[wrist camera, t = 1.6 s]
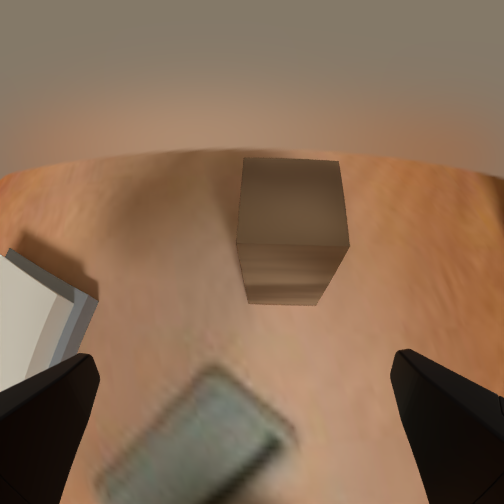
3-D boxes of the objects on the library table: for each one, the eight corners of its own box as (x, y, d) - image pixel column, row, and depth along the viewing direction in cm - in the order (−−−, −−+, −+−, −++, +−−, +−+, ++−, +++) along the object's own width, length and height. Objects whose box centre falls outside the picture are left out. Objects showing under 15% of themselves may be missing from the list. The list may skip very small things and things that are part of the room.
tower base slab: (102, 303, 23) (88, 294, 21) (55, 429, 18) (38, 430, 16) (23, 257, 26) (9, 247, 23) (-17, 359, 21) (-32, 354, 18)
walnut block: (315, 305, 22) (349, 246, 13) (248, 303, 22) (236, 243, 13) (314, 245, 24) (338, 161, 15) (252, 243, 24) (243, 157, 15)
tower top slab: (74, 303, 21) (57, 294, 19) (33, 416, 17) (13, 416, 14) (9, 260, 23) (-6, 249, 20) (-27, 352, 19) (-44, 347, 16)
